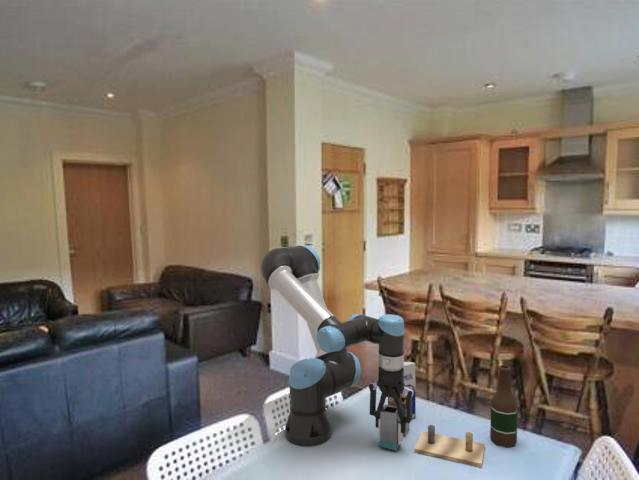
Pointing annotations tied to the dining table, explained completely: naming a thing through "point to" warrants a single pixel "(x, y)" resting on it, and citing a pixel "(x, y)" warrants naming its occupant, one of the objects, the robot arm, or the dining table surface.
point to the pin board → (450, 447)
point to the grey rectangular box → (389, 427)
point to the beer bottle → (504, 411)
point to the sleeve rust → (403, 398)
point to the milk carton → (409, 382)
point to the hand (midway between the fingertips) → (390, 439)
